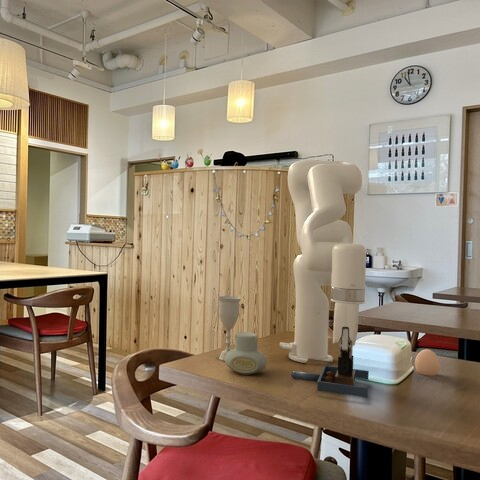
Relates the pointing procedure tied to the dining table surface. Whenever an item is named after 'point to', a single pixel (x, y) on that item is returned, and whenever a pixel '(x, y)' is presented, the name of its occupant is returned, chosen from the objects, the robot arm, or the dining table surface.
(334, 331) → the robot arm
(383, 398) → the dining table surface
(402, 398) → the dining table surface
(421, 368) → the egg
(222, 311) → the chalice
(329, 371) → the crumb
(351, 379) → the wooden stamp
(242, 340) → the air freshener
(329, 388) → the dustpan
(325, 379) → the crumb
